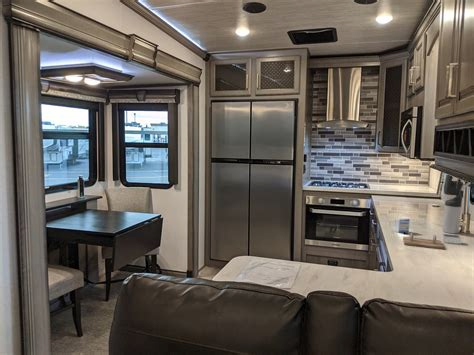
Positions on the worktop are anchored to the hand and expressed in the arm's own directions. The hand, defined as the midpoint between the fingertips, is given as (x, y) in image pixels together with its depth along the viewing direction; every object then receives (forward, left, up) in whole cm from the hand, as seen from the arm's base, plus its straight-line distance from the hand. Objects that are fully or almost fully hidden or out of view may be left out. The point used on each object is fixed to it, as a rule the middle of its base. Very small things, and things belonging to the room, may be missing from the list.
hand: (471, 198), depth 197 cm
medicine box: (-31, -30, -30) cm, 52 cm away
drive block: (-18, -4, -30) cm, 35 cm away
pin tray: (-7, -20, -29) cm, 36 cm away
